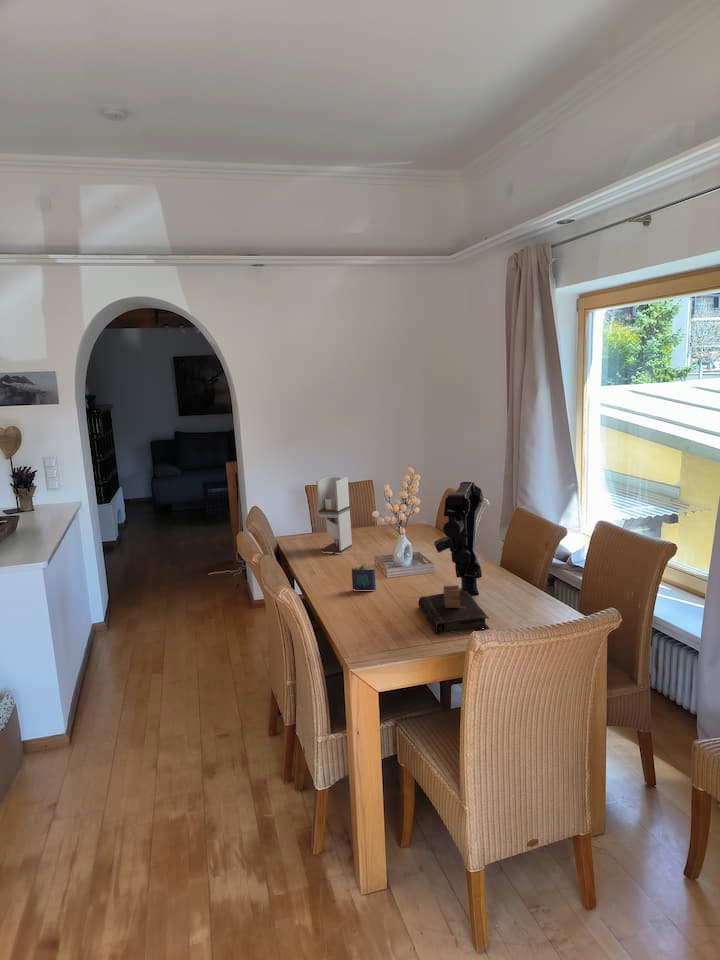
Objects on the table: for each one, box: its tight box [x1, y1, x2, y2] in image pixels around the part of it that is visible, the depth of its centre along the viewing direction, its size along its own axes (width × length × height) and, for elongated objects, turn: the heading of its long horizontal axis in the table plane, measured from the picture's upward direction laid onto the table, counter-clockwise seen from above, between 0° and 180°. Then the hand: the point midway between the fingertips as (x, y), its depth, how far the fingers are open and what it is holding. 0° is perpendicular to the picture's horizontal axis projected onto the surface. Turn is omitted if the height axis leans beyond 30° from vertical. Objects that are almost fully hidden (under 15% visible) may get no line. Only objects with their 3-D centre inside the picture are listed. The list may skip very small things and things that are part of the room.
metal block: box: [443, 584, 460, 608], centre depth 214 cm, size 5×5×6 cm
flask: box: [351, 563, 377, 590], centre depth 246 cm, size 9×3×11 cm, turn 78°
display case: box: [316, 476, 353, 553], centre depth 303 cm, size 11×11×35 cm
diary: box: [417, 591, 490, 636], centre depth 215 cm, size 19×25×5 cm
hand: (460, 573), depth 222 cm, fingers open, 9 cm apart
